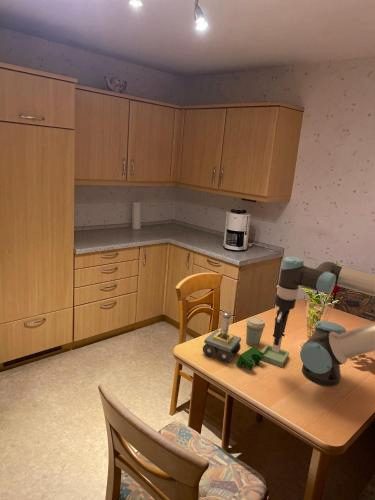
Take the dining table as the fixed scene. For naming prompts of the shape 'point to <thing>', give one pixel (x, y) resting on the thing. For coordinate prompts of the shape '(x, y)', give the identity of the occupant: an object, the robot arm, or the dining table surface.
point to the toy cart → (221, 346)
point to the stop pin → (225, 324)
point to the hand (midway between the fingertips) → (275, 350)
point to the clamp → (250, 358)
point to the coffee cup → (254, 331)
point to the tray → (274, 356)
